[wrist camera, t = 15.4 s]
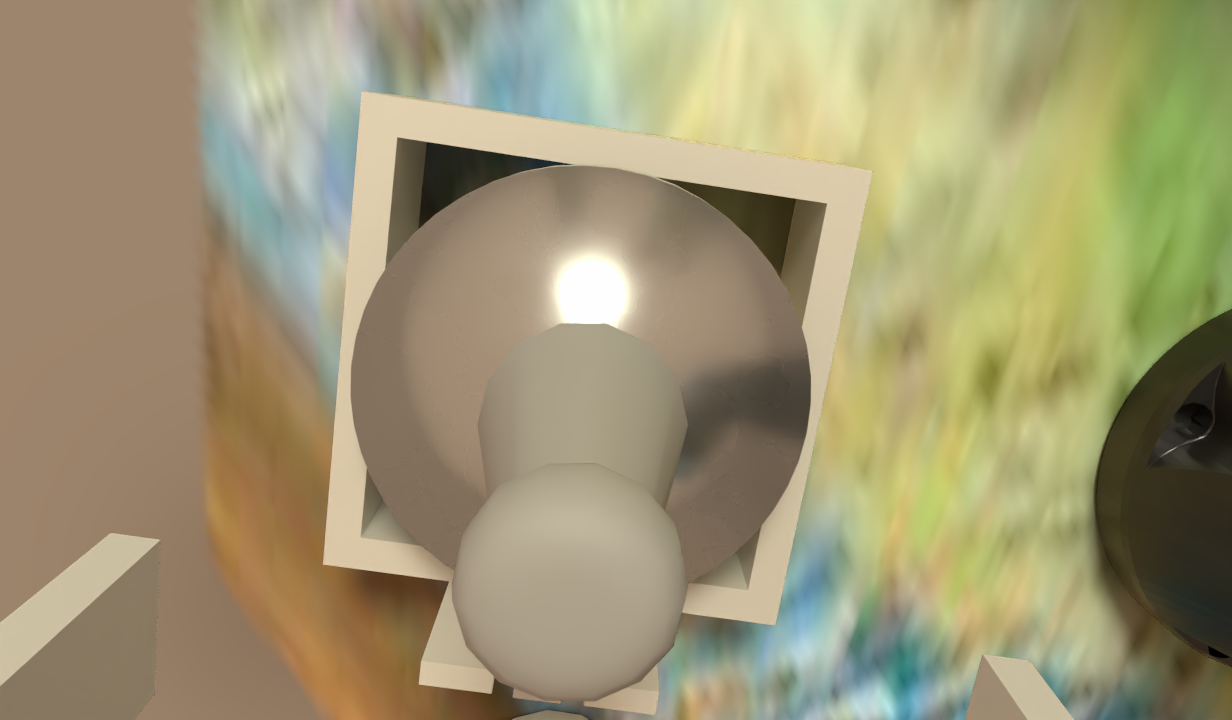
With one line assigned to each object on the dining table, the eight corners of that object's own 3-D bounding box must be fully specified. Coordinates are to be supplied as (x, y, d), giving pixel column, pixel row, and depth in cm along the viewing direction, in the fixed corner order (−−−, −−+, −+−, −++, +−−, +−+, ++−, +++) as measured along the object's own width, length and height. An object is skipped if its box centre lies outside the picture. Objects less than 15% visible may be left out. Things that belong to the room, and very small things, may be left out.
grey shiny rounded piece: (723, 633, 38) (744, 727, 32) (369, 585, 37) (324, 673, 31) (812, 189, 33) (855, 205, 27) (413, 128, 33) (370, 131, 27)
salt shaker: (542, 517, 30) (491, 809, 17) (456, 357, 29) (333, 548, 16) (711, 440, 29) (787, 685, 17) (632, 273, 28) (648, 403, 15)
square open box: (750, 581, 39) (796, 736, 29) (358, 527, 38) (271, 668, 28) (836, 163, 35) (923, 181, 25) (397, 94, 34) (312, 86, 24)
